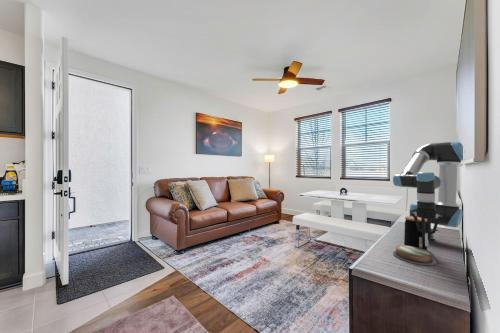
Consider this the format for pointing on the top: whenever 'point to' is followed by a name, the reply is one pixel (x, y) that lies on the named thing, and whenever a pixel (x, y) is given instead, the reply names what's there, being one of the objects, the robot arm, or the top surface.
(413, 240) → the coffee jar
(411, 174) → the robot arm
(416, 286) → the top surface
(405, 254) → the index wheel
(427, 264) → the wheel base
